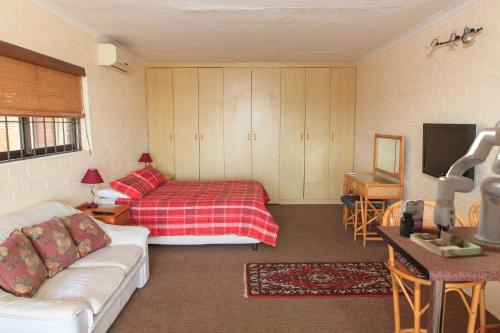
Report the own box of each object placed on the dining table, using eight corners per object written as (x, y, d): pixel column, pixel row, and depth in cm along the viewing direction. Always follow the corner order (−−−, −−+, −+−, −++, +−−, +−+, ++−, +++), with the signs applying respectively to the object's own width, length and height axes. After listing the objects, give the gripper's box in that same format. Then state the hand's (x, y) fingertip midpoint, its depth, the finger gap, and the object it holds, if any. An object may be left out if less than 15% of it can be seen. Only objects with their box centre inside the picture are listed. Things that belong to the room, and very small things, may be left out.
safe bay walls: (465, 246, 167) (465, 240, 167) (481, 254, 158) (481, 247, 158) (429, 249, 163) (430, 243, 163) (444, 256, 155) (444, 250, 154)
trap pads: (427, 239, 176) (427, 239, 176) (452, 252, 160) (452, 251, 160) (413, 240, 175) (413, 240, 175) (437, 253, 159) (437, 252, 159)
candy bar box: (416, 227, 198) (418, 198, 195) (422, 229, 193) (425, 200, 191) (398, 228, 195) (400, 199, 192) (405, 231, 190) (407, 201, 188)
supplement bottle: (415, 237, 179) (416, 214, 178) (400, 236, 181) (402, 213, 179) (411, 233, 186) (413, 211, 184) (397, 232, 187) (399, 210, 186)
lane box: (445, 237, 180) (445, 232, 179) (481, 254, 158) (481, 247, 158) (409, 240, 176) (410, 234, 175) (442, 257, 154) (442, 250, 154)
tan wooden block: (450, 242, 172) (451, 231, 172) (460, 247, 167) (461, 235, 166) (439, 243, 171) (440, 231, 170) (448, 248, 165) (450, 235, 165)
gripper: (463, 205, 165) (459, 243, 168) (440, 198, 180) (437, 233, 182) (449, 206, 164) (445, 244, 166) (427, 198, 178) (424, 234, 181)
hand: (441, 238), depth 174 cm, fingers closed
